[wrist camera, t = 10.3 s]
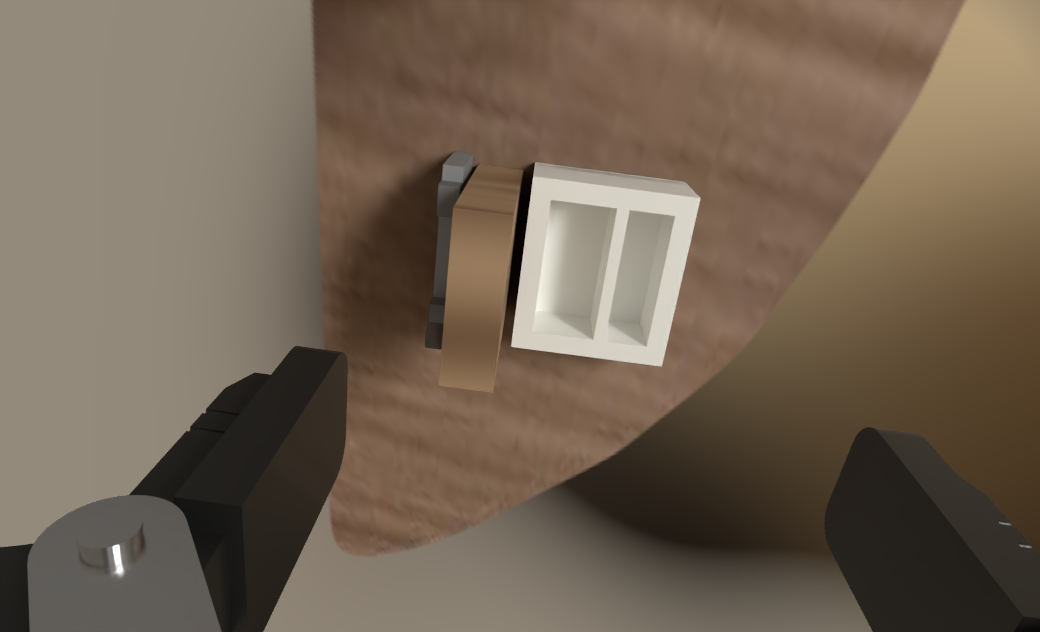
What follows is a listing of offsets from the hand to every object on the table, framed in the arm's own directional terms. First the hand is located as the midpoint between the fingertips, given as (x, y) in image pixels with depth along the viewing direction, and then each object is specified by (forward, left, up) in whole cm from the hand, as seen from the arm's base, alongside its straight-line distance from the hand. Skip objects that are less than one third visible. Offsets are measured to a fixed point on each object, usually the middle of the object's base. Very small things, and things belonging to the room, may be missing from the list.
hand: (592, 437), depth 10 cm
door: (+5, -3, -27) cm, 27 cm away
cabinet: (+5, 0, -26) cm, 27 cm away
